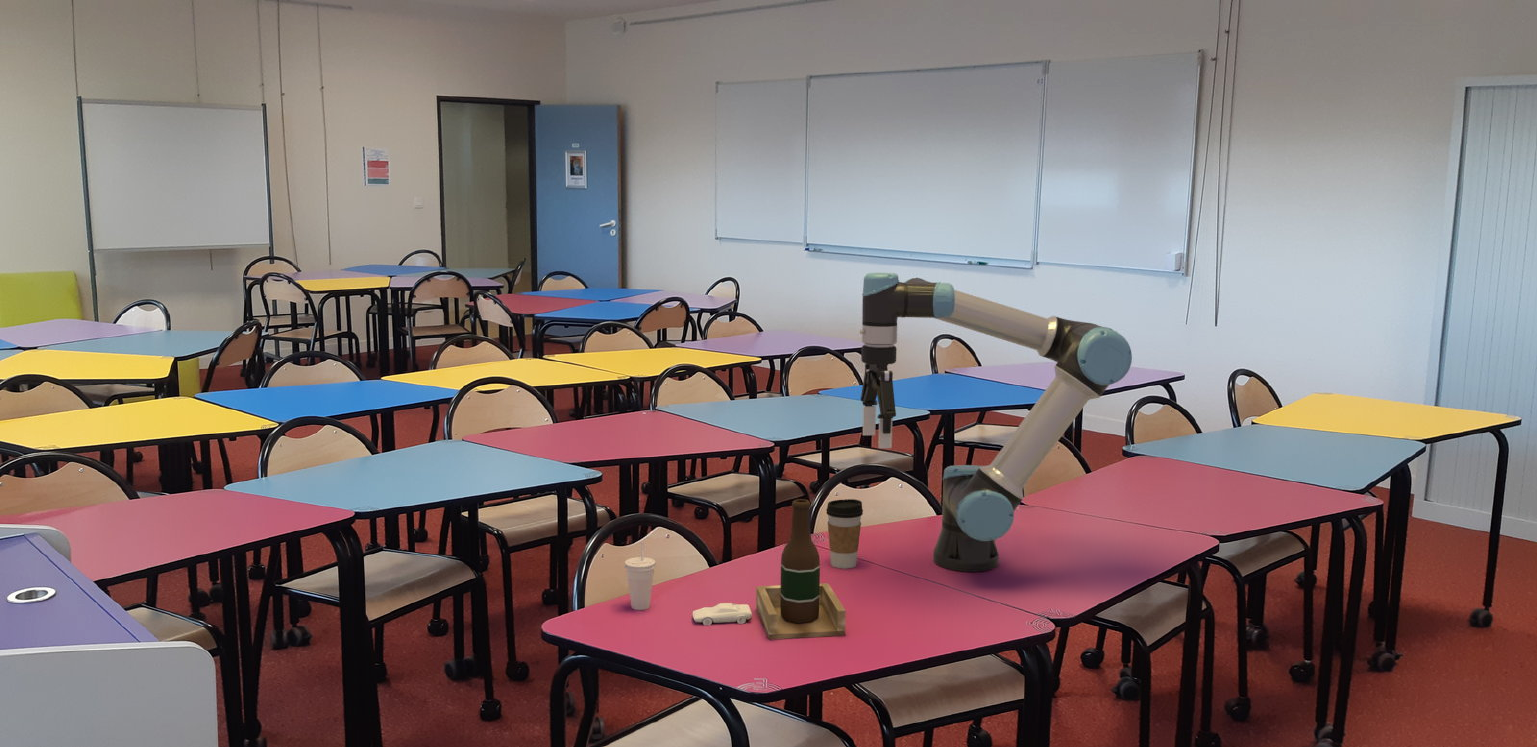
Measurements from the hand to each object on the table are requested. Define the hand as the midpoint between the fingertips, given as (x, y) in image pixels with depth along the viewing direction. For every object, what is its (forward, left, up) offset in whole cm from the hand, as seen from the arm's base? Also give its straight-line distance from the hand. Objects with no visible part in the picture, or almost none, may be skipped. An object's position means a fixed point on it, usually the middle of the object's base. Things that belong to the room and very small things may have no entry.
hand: (876, 441), depth 239 cm
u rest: (+21, +22, -32) cm, 44 cm away
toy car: (+36, +18, -32) cm, 52 cm away
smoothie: (+52, +9, -32) cm, 62 cm away
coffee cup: (+4, -12, -32) cm, 34 cm away
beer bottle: (+21, +22, -31) cm, 43 cm away
